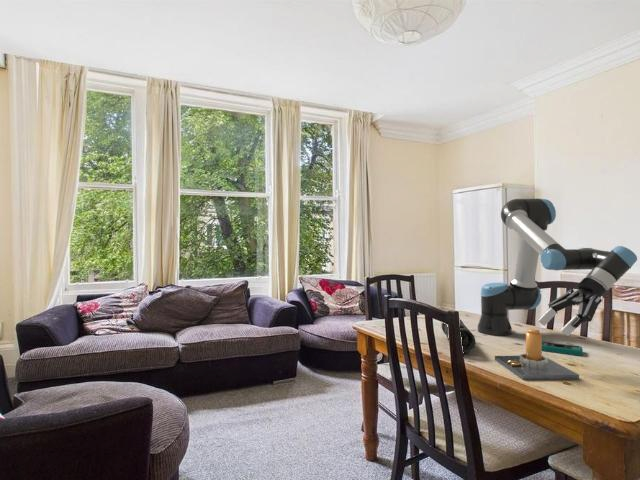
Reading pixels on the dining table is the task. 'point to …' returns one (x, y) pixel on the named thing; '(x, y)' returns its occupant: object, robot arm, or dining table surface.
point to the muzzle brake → (463, 336)
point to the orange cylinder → (534, 345)
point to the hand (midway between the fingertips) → (552, 327)
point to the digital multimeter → (562, 348)
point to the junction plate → (536, 368)
